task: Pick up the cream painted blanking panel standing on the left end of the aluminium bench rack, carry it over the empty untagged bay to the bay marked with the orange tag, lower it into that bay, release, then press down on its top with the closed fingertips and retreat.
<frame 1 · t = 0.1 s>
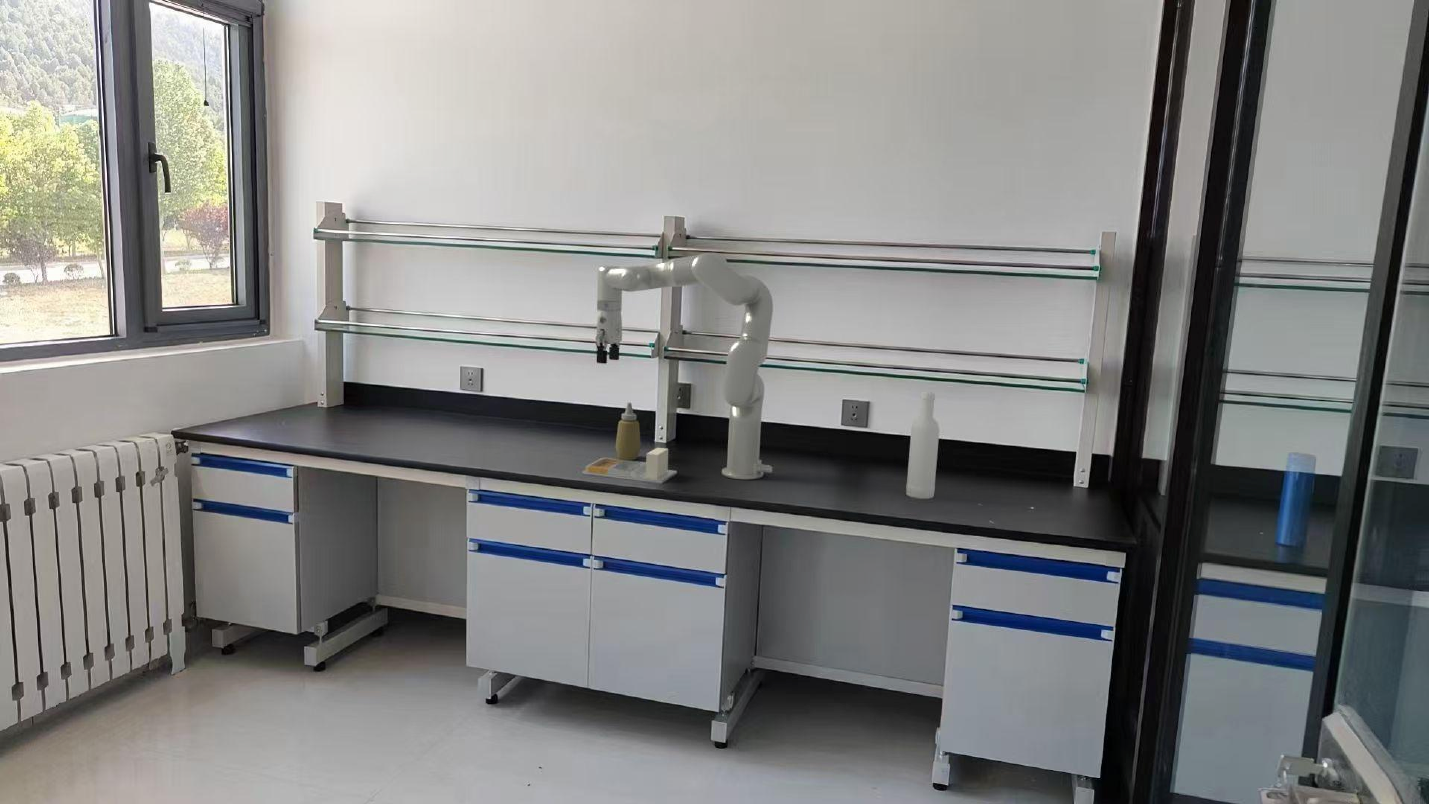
hand: (607, 361, 297), 31 cm above the lab bench, tool pointing down, fingers open, 9 cm apart
panel: (656, 474, 283), point 1 cm above the lab bench, touching rack
bottle: (919, 496, 275), on the lab bench
squeeze bottle: (627, 459, 305), on the lab bench
rack: (630, 473, 285), on the lab bench
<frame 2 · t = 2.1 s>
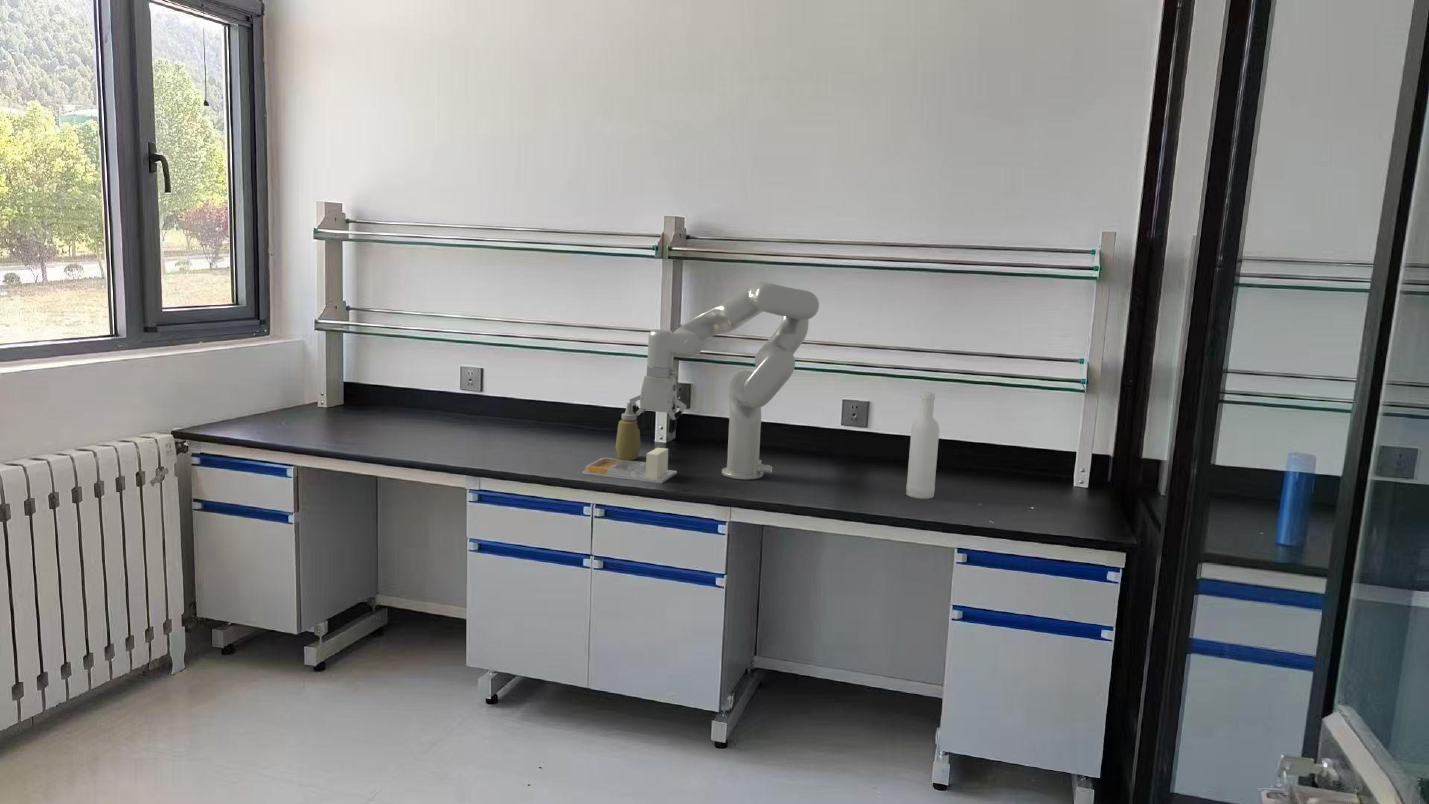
hand: (656, 430, 280), 14 cm above the lab bench, tool pointing down, fingers open, 9 cm apart
nothing on the lab bench moved.
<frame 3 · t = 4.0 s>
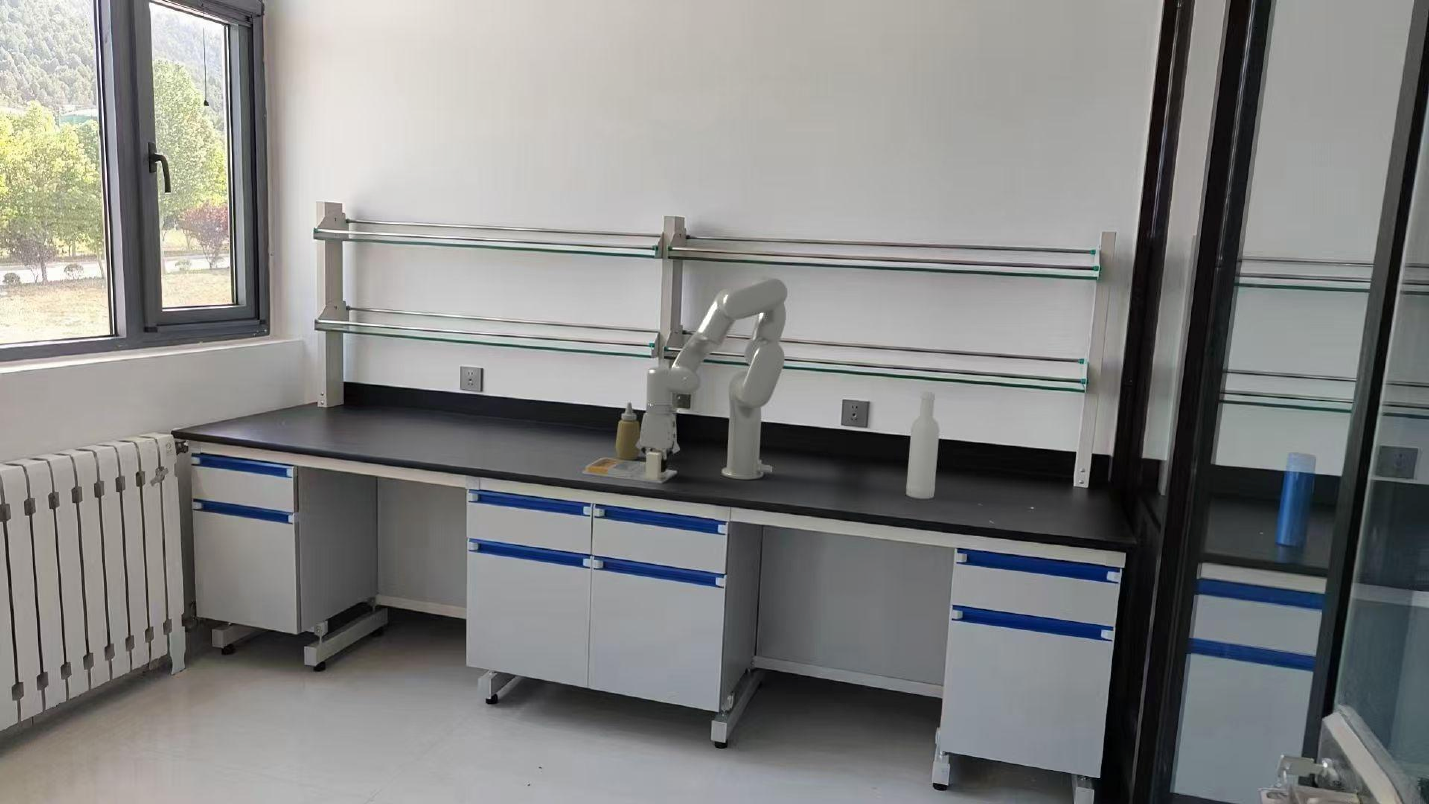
hand: (656, 470, 283), 2 cm above the lab bench, tool pointing down, fingers closed on panel, 3 cm apart
panel: (656, 474, 283), point 1 cm above the lab bench, touching gripper, rack
everything else where it was.
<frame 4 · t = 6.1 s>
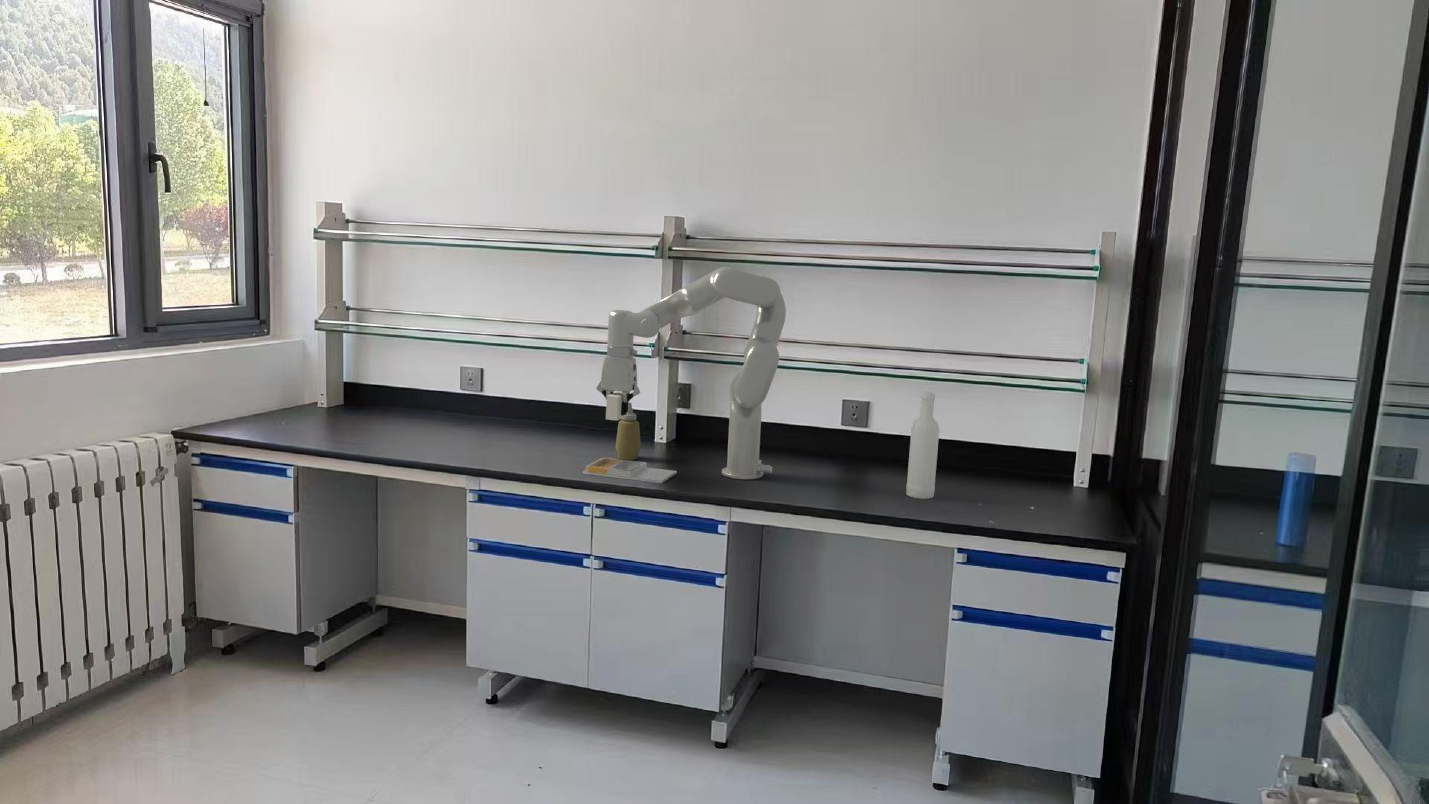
hand: (617, 413, 283), 18 cm above the lab bench, tool pointing down, fingers closed on panel, 3 cm apart
panel: (617, 417, 284), point 17 cm above the lab bench, touching gripper
everything else where it was.
when the fingers open (3 cm above the lab bench, at t = 8.3 s): panel stays where it is, resting on rack.
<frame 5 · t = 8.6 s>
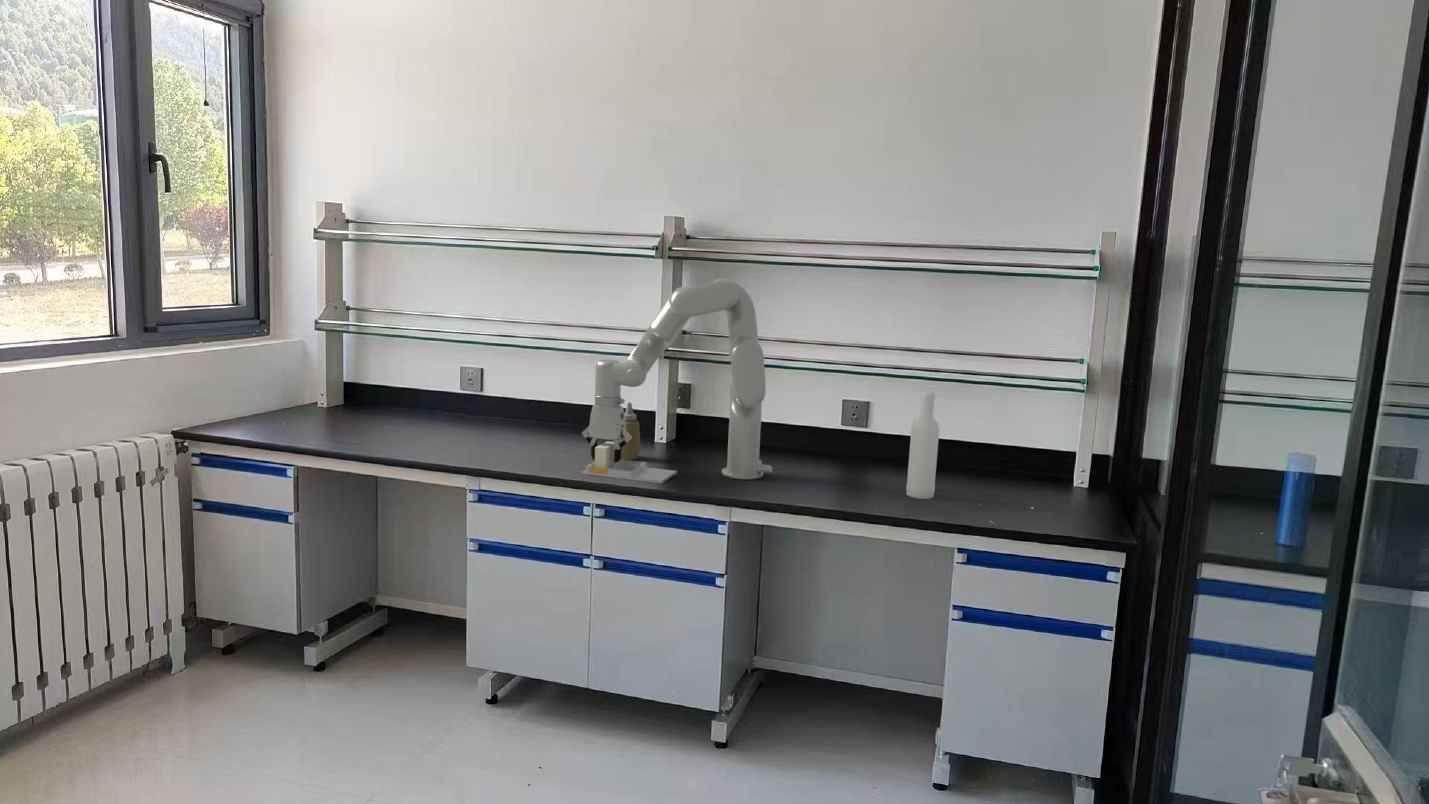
hand: (606, 459, 287), 3 cm above the lab bench, tool pointing down, fingers open, 6 cm apart
panel: (606, 467, 287), point 1 cm above the lab bench, touching rack
everything else where it was.
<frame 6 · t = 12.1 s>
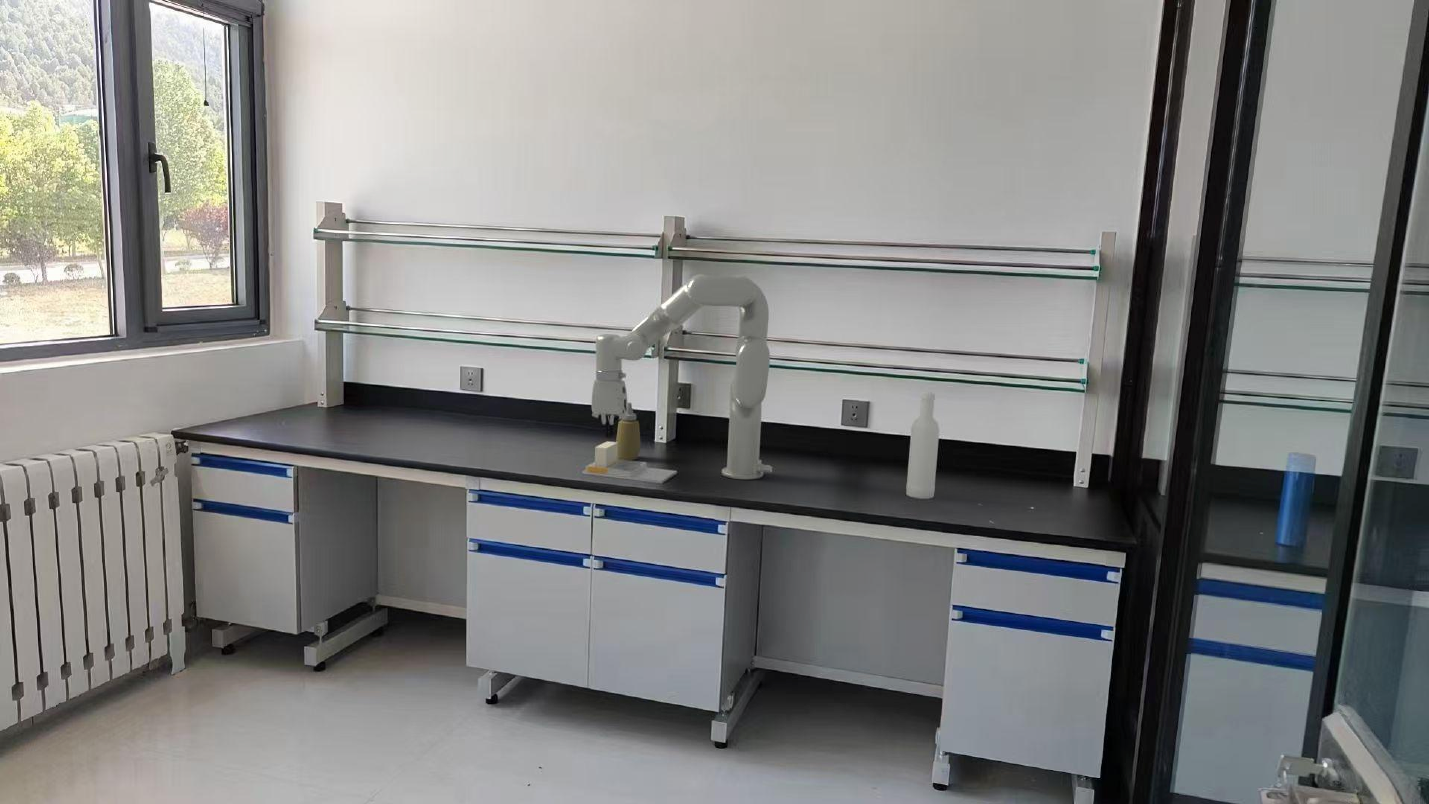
hand: (609, 436, 286), 10 cm above the lab bench, tool pointing down, fingers closed
nothing on the lab bench moved.
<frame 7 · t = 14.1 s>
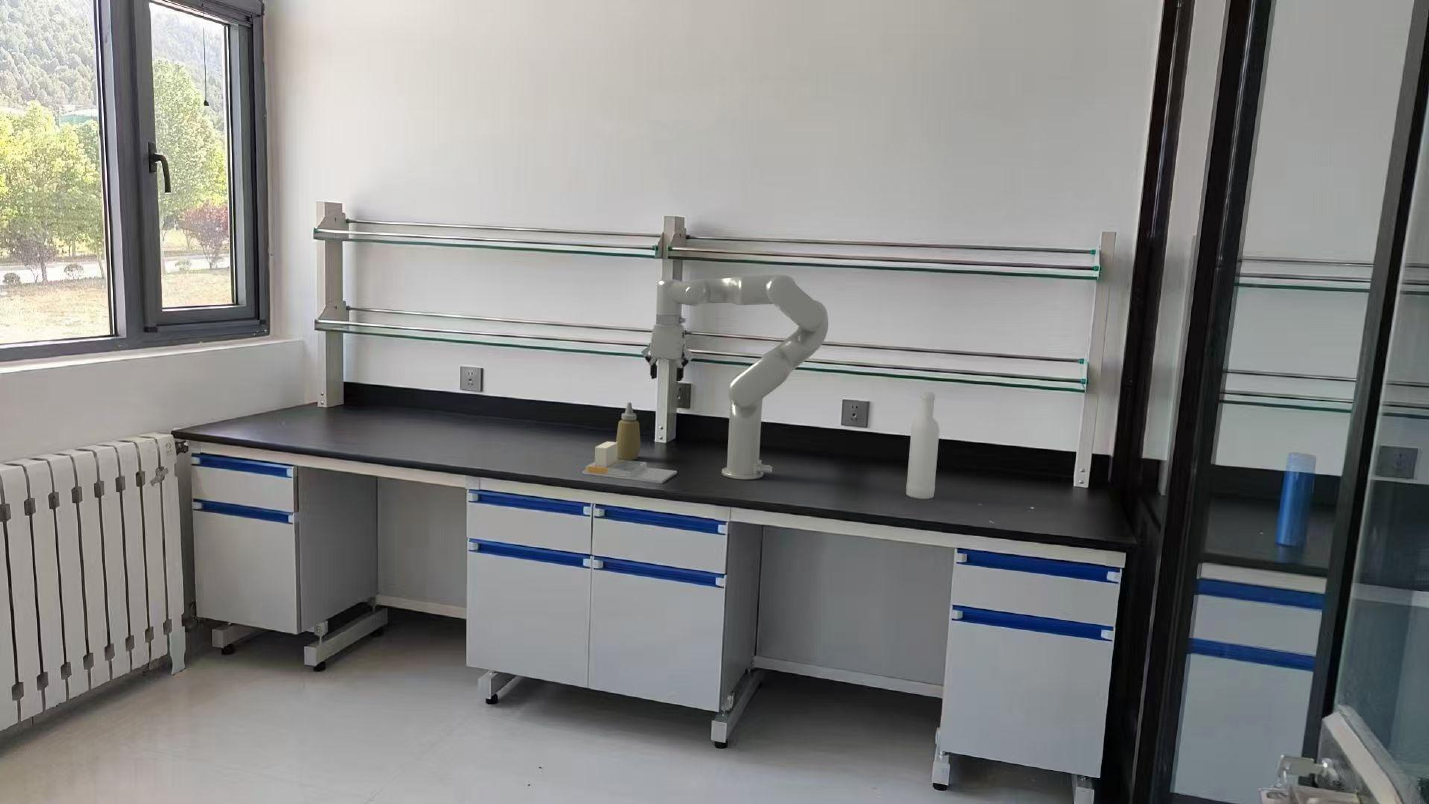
hand: (666, 379, 288), 28 cm above the lab bench, tool pointing down, fingers open, 7 cm apart
nothing on the lab bench moved.
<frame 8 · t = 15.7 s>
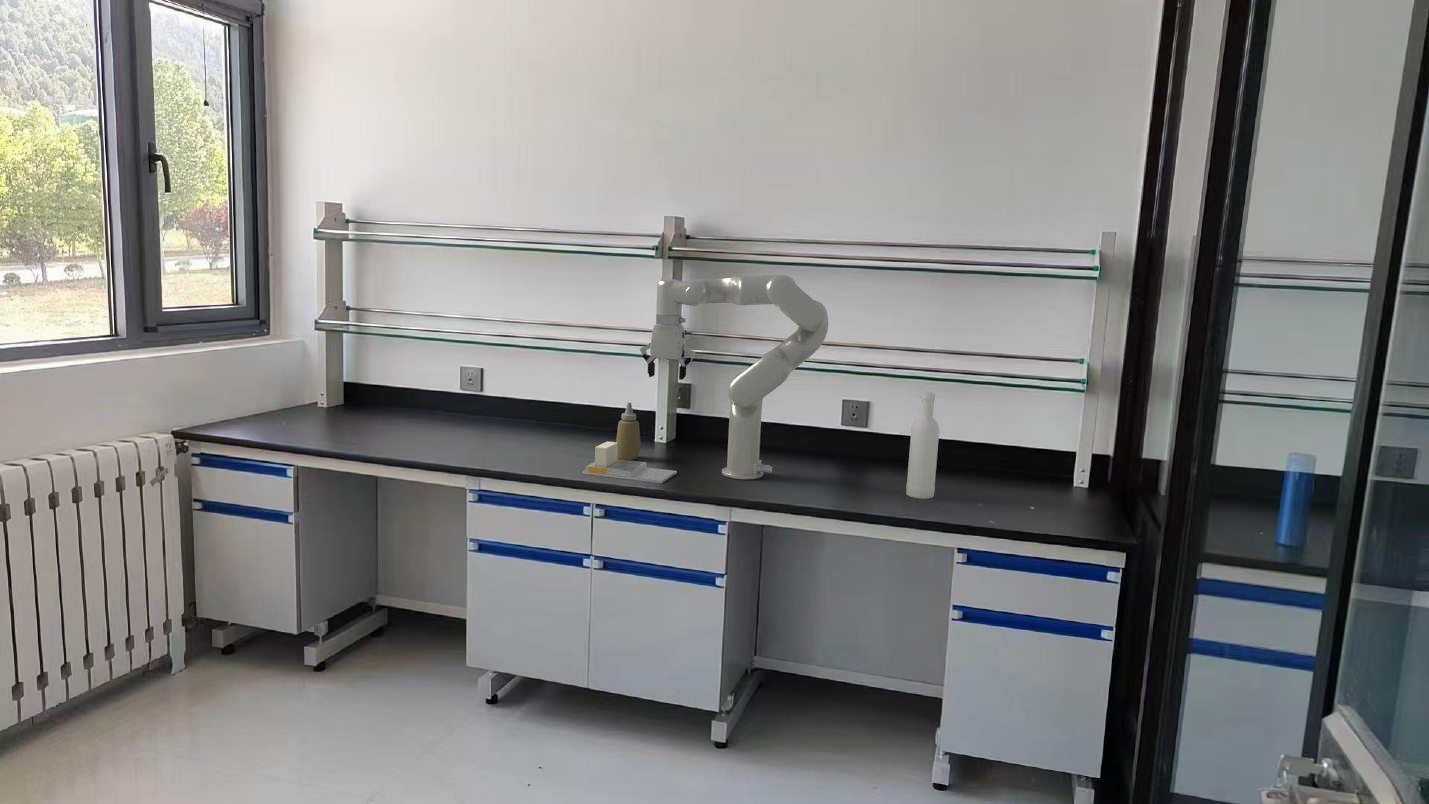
hand: (666, 377, 288), 28 cm above the lab bench, tool pointing down, fingers open, 9 cm apart
nothing on the lab bench moved.
at the end: panel 0.0 cm from the target spot on the rack, point 1.0 cm above the rack's base; panel tilted 0°; the gripper is holding nothing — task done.
